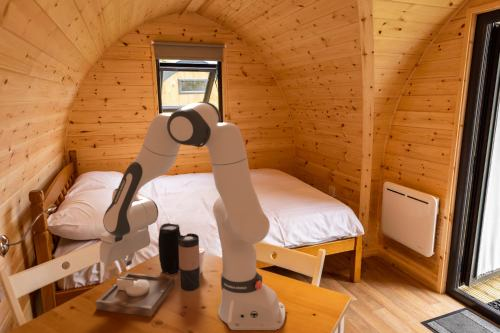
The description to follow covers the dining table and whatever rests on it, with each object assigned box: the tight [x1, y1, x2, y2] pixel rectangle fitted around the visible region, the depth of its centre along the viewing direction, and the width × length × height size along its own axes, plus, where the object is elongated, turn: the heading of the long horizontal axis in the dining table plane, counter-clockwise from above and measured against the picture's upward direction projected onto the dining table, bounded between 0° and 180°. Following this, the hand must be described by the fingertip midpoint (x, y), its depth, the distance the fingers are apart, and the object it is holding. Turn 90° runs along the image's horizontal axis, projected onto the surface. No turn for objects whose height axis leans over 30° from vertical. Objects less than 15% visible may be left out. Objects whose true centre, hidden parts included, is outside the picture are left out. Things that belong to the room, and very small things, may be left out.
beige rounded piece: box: [116, 276, 150, 297], centre depth 122 cm, size 12×8×4 cm
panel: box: [95, 272, 176, 317], centre depth 122 cm, size 20×20×3 cm
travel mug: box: [178, 232, 201, 292], centre depth 128 cm, size 8×8×20 cm
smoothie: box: [199, 246, 206, 274], centre depth 139 cm, size 6×6×14 cm
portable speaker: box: [157, 222, 182, 276], centre depth 139 cm, size 9×9×20 cm
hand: (127, 265), depth 125 cm, fingers closed
